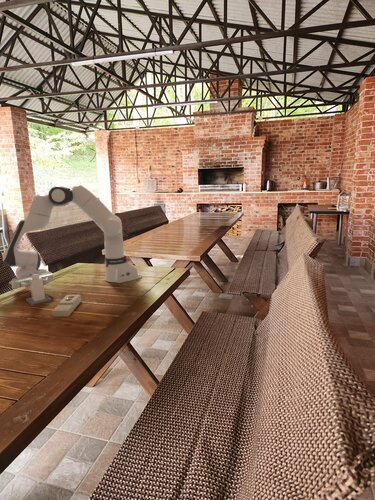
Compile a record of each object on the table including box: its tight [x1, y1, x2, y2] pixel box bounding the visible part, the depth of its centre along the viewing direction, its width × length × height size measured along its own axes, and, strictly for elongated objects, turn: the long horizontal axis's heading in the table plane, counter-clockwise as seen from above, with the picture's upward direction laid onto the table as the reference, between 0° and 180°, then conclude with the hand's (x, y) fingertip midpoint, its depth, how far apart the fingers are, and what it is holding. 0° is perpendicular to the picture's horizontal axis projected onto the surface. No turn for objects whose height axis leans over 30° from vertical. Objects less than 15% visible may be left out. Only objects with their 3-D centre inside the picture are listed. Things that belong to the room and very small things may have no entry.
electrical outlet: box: [51, 294, 82, 318], centre depth 151 cm, size 7×4×18 cm
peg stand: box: [25, 293, 53, 307], centre depth 162 cm, size 10×10×8 cm
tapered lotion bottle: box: [29, 274, 46, 301], centre depth 161 cm, size 5×5×13 cm
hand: (36, 283), depth 160 cm, fingers open, 8 cm apart
